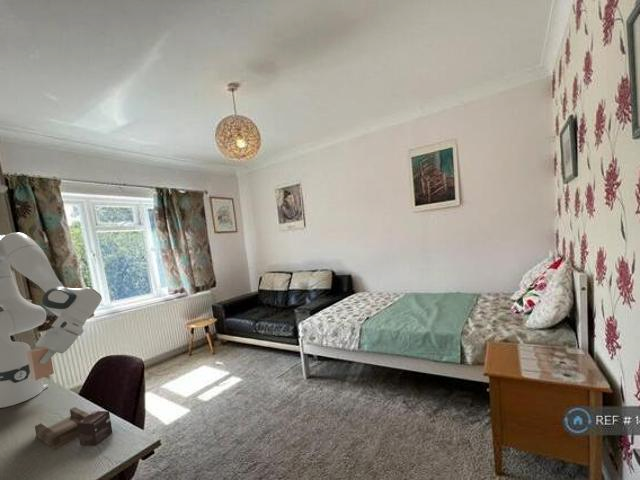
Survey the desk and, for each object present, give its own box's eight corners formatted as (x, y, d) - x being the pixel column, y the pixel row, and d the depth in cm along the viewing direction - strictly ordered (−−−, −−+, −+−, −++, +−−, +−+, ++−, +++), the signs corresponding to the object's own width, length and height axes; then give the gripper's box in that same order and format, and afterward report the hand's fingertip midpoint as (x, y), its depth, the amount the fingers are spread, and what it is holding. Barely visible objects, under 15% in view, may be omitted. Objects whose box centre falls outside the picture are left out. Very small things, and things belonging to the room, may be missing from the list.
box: (95, 446, 89) (91, 423, 89) (79, 445, 90) (76, 423, 90) (113, 432, 95) (109, 410, 95) (98, 432, 96) (94, 410, 96)
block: (31, 378, 107) (26, 351, 106) (48, 371, 111) (44, 345, 111) (35, 380, 104) (31, 352, 104) (53, 373, 108) (49, 347, 108)
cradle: (36, 436, 98) (34, 426, 98) (76, 416, 108) (74, 406, 107) (54, 449, 90) (53, 438, 90) (96, 426, 99) (94, 416, 99)
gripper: (48, 321, 118) (19, 355, 110) (69, 324, 108) (38, 362, 100) (64, 328, 122) (36, 362, 114) (85, 331, 112) (57, 368, 104)
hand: (37, 362), depth 107 cm, fingers closed on block, 5 cm apart
